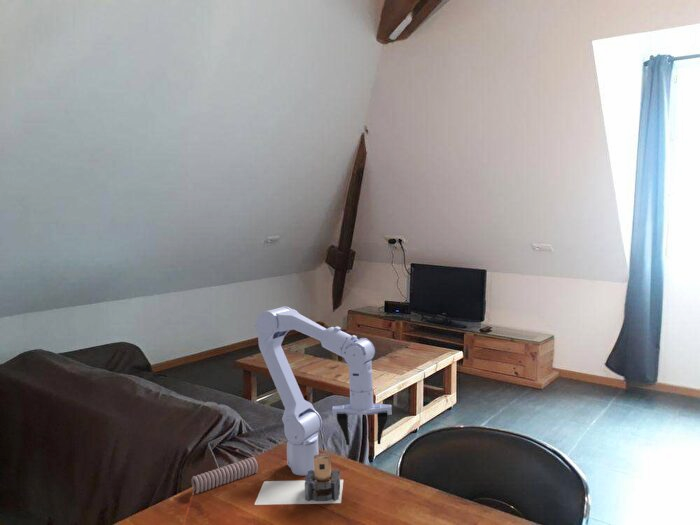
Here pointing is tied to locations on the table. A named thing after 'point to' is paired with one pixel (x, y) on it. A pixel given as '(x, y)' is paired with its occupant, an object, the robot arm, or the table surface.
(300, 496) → the base board
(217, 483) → the coil
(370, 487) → the table surface
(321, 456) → the tube
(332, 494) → the collar stand
